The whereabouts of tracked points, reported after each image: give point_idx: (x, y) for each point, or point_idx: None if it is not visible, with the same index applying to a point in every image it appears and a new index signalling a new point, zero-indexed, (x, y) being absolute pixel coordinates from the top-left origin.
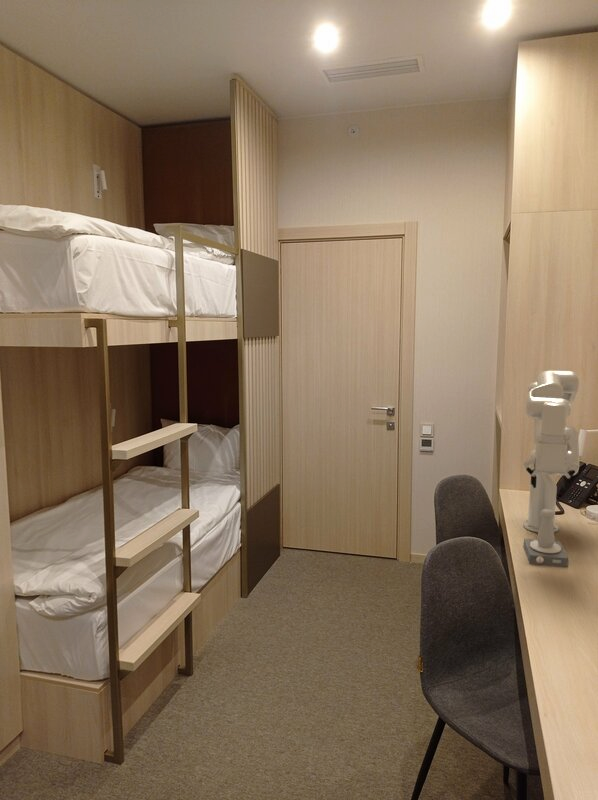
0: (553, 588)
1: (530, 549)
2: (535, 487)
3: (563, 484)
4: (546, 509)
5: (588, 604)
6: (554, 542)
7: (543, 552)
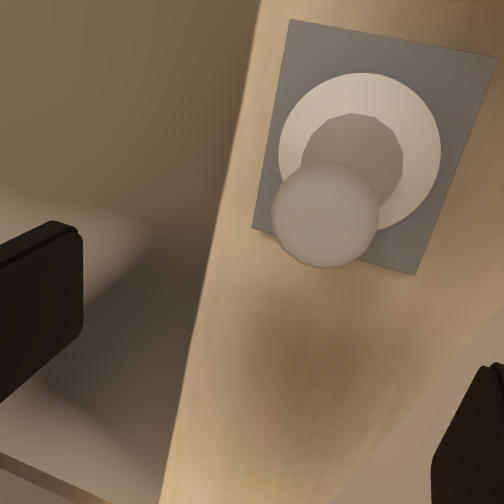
0: (277, 389)
1: (274, 169)
2: (75, 331)
3: (459, 465)
4: (311, 213)
5: (339, 478)
6: (453, 74)
7: None
